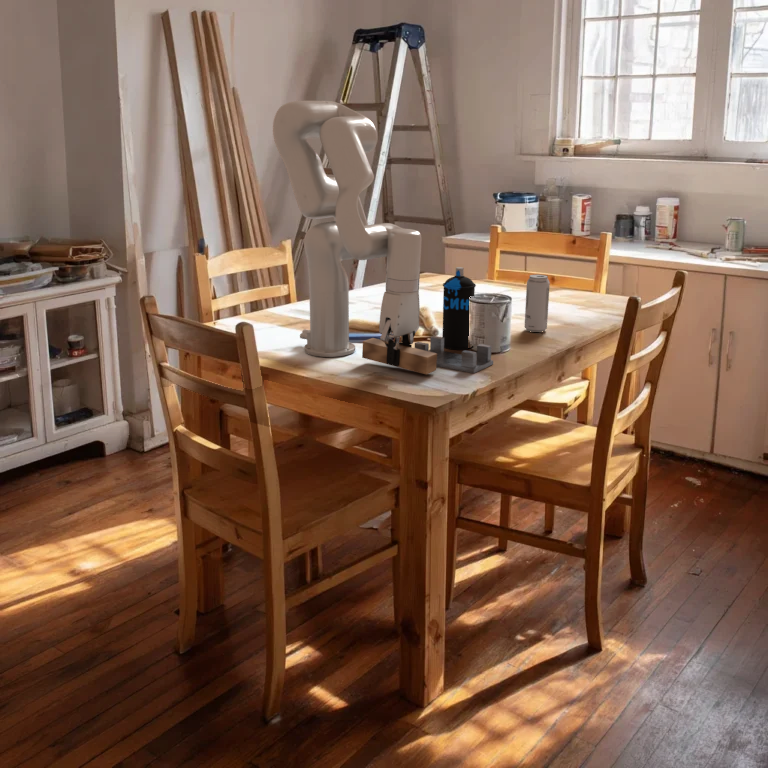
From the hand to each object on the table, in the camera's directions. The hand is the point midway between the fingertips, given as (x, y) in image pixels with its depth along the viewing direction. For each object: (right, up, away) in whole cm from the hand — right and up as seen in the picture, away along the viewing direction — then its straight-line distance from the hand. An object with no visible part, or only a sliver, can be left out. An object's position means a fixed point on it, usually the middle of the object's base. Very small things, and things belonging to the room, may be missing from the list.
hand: (398, 361), depth 208 cm
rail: (0, -1, 0) cm, 1 cm away
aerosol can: (+15, +4, +21) cm, 26 cm away
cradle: (+13, 0, +6) cm, 14 cm away
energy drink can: (+38, +9, +36) cm, 53 cm away
